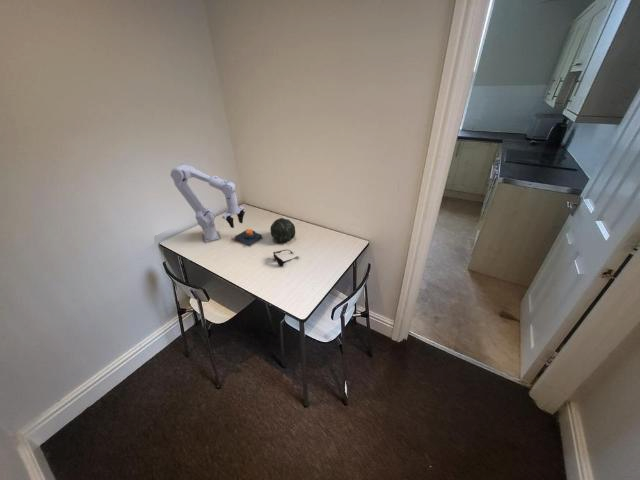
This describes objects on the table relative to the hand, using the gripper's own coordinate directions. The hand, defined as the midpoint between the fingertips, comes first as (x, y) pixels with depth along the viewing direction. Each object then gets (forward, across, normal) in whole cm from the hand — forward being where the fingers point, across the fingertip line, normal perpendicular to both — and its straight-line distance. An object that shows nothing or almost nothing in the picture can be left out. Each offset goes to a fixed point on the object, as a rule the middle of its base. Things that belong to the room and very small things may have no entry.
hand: (236, 225), depth 148 cm
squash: (+10, +15, -22) cm, 29 cm away
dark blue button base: (+9, +3, -5) cm, 11 cm away
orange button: (+5, +3, -7) cm, 9 cm away
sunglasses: (+10, 0, -37) cm, 38 cm away
